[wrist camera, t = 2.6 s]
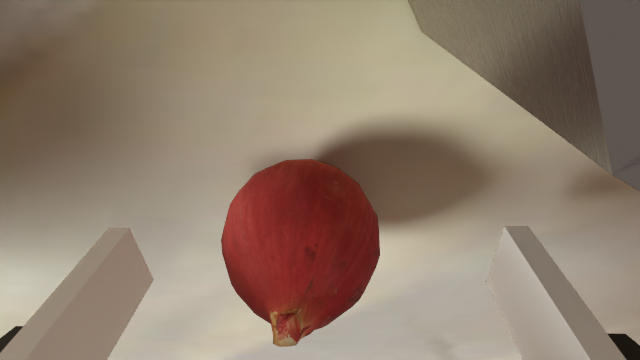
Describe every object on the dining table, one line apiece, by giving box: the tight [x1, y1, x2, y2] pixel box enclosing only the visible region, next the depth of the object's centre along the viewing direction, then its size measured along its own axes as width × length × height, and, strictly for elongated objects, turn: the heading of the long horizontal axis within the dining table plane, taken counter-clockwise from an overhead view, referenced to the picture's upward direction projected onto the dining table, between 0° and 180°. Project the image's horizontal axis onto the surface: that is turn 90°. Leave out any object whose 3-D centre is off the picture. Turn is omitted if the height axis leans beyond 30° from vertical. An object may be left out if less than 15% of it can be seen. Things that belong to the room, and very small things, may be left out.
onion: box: [221, 159, 380, 346], centre depth 12 cm, size 6×6×8 cm
